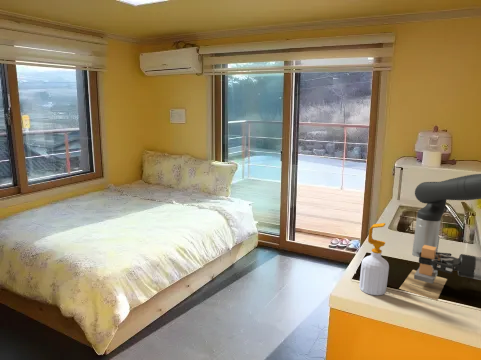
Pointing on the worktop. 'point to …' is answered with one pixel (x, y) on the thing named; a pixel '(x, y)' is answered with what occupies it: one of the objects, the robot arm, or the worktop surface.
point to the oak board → (423, 286)
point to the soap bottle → (374, 268)
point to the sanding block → (426, 266)
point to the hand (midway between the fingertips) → (419, 257)
